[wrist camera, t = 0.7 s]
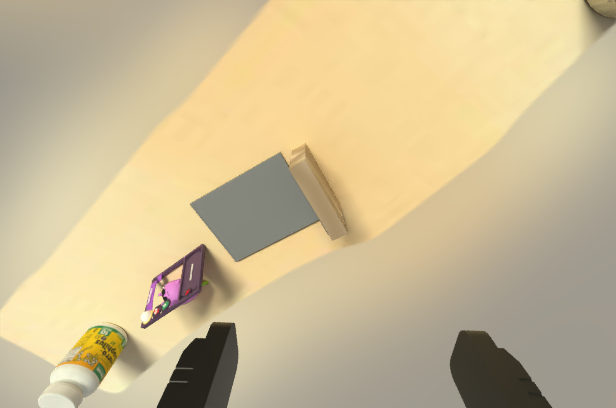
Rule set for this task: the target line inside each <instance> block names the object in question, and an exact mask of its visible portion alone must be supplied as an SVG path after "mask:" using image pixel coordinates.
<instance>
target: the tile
mask: <svg viewBox="0 0 616 408" xmlns="http://www.w3.org/2000/svg"><path fill="white" fill-rule="evenodd" d="M289 171H290V172H291V175H292V176H293V178H294V180H295V181H296V183H297V185H298V186H299V188H300V190H301V191H302V193H303V194H304V196H305V198H306V199H307V201H308V203H309V204H310V206H311V207H312V209H313V211H314V212H315V214H316V216H317V217H318V219H319V220H320V222H321V224H322V225H323V227H324V229H325V230H326V232H327V234H328V235H329V236H330V237H331V239H332V241H333V240H335V239H337V238H339V237H341V236H343V235H345V234H348V232H347V229H346V225H345V221H344V218H343V214H342V211H341V207H340V203H339V202H338V200H337V198H336V196H335V195H334V193H333V191H332V189H331V188H330V186H329V184H328V182H327V181H326V179H325V177H324V175H323V173H322V172H321V170H320V168H319V166H318V165H317V163H316V161H315V159H314V158H313V156H312V154H311V152H310V151H309V149H308V147H307V145H306V143H305V144H303V145H301V146H299V147H298V148H296V149H294V150H292V155H291V160H290V165H289Z"/></svg>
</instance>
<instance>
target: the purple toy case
mask: <svg viewBox="0 0 616 408" xmlns="http://www.w3.org/2000/svg"><path fill="white" fill-rule="evenodd" d="M204 255H205V245H203V244H201V245H200V246H199V247H197V248H196V249H194V250H193V251H192V252H190V253H189V254H187V255H186V256H185V257H183V258H182V259H180V260H179V261H178V262H176V263H175V264H173V265H172V266H171V267H169V268H168V269H166V270H165V271H164V272H162V273H161V274H159V275H158V276H157V277H155V278H154V279H153V280H152V284H151V288H150V292H149V296H148V300H147V304H146V308H145V312H143V313H142V315H141V321H142V325H141V328H144V329H145V328H147V327H148V326H150V325H151V324H153V323H154V322H156V321H157V320H159V319H160V318H162V317H163V316H165V315H166V314H168V313H169V312H171V311H172V310H174V309H175V308H177V307H178V306H180V305H183V304H186V303H188V302H190V301H191V300H193V299H194V298H195V297H196V296H197V295H198V293H200V292H201V289H202V286H205V285H206V284H208V281H204V282H202V278H203V266H204ZM183 262H184V263H183ZM182 263H183V269H182V275H181V279H178V280H174V281H171V282H169V283H168V284H167V285H165V287H162V288H164V289H163V290H162V293H160V294H158V296H162V297H163V300H164V302H163V303H162V305H161V304H160V305H159V306H157V307H156V308H155V310H154V312H153V311H152V307H153V297H154V292H155V287H156V283H158V282H159V281H161V278H162V277H164V276H165V275H166V274H168V273H169V272H171V271H172V270H173V269H175V268H176V267H178V266H179V265H181V264H182ZM169 306H170V307H169ZM161 311H162V313H160V312H161ZM152 316H153V319H152Z"/></svg>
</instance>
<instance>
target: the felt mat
mask: <svg viewBox="0 0 616 408" xmlns="http://www.w3.org/2000/svg"><path fill="white" fill-rule="evenodd" d="M190 205H191V206H192V208H193V209H194V210H195V211H196V213H197V214H198V215H199V216H200V218H201V219H202V220H203V221H204V223H205V224H206V225H207V226H208V228H209V229H210V230H211V231H212V233H213V234H214V235H215V236H216V238H217V239H218V240H219V241H220V243H221V244H222V245H223V246H224V248H225V249H226V250H227V251H228V253H229V254H230V255H231V256H232V258H233V259H234V260H235V261H238V260H240V259H242V258H244V257H246V256H248V255H250V254H252V253H254V252H256V251H258V250H260V249H262V248H264V247H266V246H268V245H270V244H272V243H274V242H276V241H278V240H280V239H282V238H284V237H286V236H288V235H290V234H292V233H294V232H296V231H298V230H300V229H302V228H304V227H306V226H308V225H310V224H312V223H314V222H316V221H318V220H319V219H318V217H317V216H316V214H315V212H314V211H313V209H312V207H311V206H310V204H309V203H308V201H307V199H306V198H305V196H304V194H303V193H302V191H301V190H300V188H299V186H298V185H297V183H296V181H295V180H294V178H293V176H292V175H291V172H290V171H289V166H288V164H287V163H286V161H285V159H284V158H283V156H282V154H281V153H278V154H276V155H274V156H273V157H271V158H269V159H267V160H266V161H264V162H262V163H260V164H259V165H257V166H255V167H253V168H252V169H250V170H248V171H246V172H245V173H243V174H241V175H239V176H238V177H236V178H234V179H232V180H231V181H229V182H227V183H225V184H224V185H222V186H220V187H218V188H217V189H215V190H213V191H211V192H210V193H208V194H206V195H204V196H203V197H201V198H199V199H197V200H196V201H194V202H192V203H191V204H190Z"/></svg>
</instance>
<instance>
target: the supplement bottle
mask: <svg viewBox="0 0 616 408" xmlns="http://www.w3.org/2000/svg"><path fill="white" fill-rule="evenodd" d="M126 343H127V335H126V333H125V332H124V330H123V329H122V328H120V327H119V326H117V325H114V324H111V323H106V322H102V323H97V324H95V325H93V326H91V327H90V328H89V329H88V331H87V332H86V333H85V334H84V335H83V336H82V337H81V339H80V340H79V341H78V342H77V343H76V345H75V346H74V347H73V348H72V349H71V350H70V352H69V353H68V354H67V355H66V356H65V357H64V359H63V360H62V361H61V362H60V363H59V364H58V366H57V367H56V368H55V369H54V371H53V372H52V374H51V376H50V384H51V385H50V386H48V387H47V388H46V389H45V391H44V392H43V394H42V395H41V396H40V397H39V399H38V404H39V406H40V407H41V408H78V406H79V405H80V404H81V402H82V399H83V397H86V396H89V395H90V394H92V393H93V392H94V391H95V390H96V389H97V388H98V386H99V385H100V383H101V382H102V380H103V379H104V377H105V376H106V374H107V373H108V371H109V370H110V368H111V367H112V365H113V364H114V362H115V361H116V359H117V358H118V356H119V355H120V353H121V352H122V350H123V349H124V347H125V346H126Z"/></svg>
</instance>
